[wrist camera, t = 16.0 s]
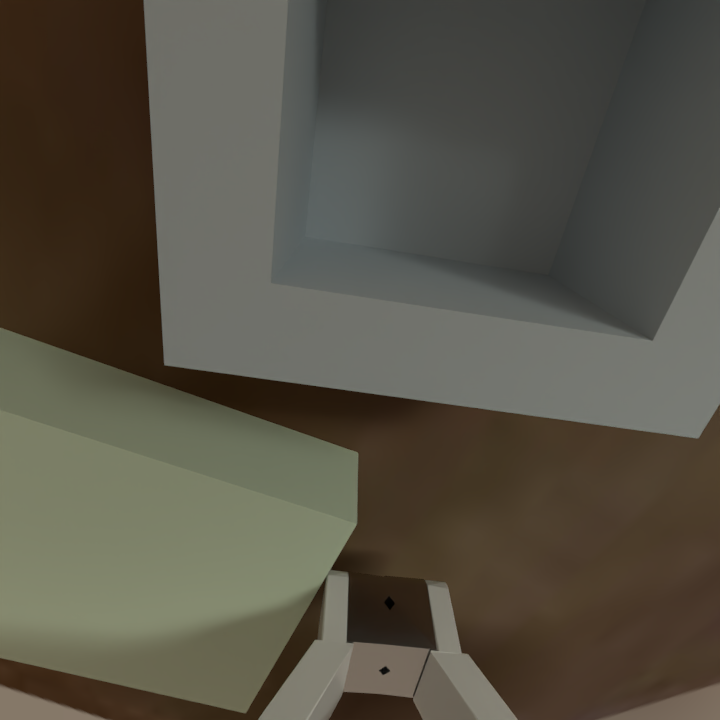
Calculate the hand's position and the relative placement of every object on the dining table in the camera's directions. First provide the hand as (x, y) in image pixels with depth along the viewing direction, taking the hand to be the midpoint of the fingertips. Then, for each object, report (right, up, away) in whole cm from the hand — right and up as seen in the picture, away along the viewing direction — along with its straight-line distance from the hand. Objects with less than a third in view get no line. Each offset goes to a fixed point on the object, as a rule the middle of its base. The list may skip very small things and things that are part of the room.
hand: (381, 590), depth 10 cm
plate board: (-8, +2, +1) cm, 8 cm away
